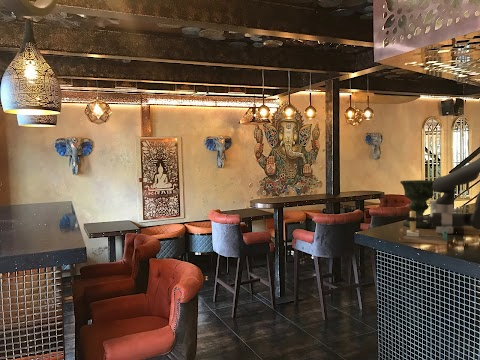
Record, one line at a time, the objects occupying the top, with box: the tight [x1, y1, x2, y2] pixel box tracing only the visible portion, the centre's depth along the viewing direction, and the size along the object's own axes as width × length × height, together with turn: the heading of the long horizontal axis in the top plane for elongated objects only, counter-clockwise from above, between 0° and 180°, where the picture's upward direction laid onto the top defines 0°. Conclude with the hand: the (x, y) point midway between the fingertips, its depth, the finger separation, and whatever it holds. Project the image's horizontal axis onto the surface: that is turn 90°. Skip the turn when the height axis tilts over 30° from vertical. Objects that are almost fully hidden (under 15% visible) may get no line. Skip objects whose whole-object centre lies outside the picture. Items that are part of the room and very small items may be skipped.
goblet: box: [399, 179, 435, 229], centre depth 262 cm, size 22×23×30 cm
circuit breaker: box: [428, 199, 455, 217], centre depth 277 cm, size 8×14×15 cm, turn 89°
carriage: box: [406, 210, 420, 237], centre depth 217 cm, size 7×6×13 cm
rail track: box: [399, 228, 448, 245], centre depth 216 cm, size 10×23×6 cm, turn 66°
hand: (407, 218), depth 218 cm, fingers closed on carriage, 3 cm apart
